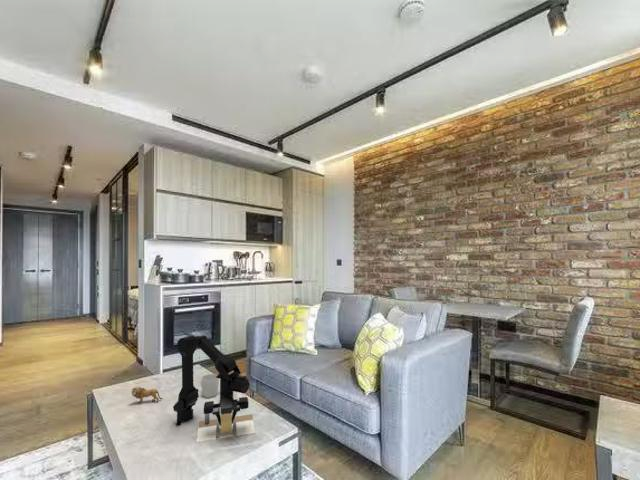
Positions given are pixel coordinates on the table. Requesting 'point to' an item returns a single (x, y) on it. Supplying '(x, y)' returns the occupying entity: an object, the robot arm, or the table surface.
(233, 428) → the door board
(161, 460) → the table surface
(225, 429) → the bar
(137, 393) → the lion figurine
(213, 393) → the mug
